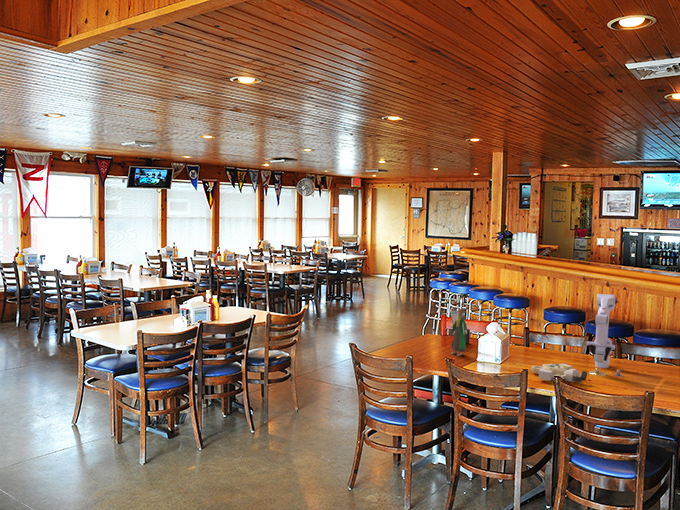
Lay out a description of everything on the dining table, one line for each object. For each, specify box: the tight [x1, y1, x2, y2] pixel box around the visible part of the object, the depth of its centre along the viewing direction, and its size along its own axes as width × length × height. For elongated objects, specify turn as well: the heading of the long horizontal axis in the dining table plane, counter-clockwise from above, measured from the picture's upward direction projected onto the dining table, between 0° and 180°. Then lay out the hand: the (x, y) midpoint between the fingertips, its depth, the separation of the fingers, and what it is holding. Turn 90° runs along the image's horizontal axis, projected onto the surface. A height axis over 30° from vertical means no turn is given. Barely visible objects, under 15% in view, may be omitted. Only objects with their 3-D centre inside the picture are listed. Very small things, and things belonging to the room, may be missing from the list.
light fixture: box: [449, 310, 471, 345], centre depth 399 cm, size 11×17×24 cm, turn 152°
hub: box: [588, 367, 607, 377], centre depth 328 cm, size 9×9×4 cm
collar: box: [593, 353, 606, 363], centre depth 327 cm, size 5×5×4 cm
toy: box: [531, 363, 588, 383], centre depth 321 cm, size 25×8×30 cm
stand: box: [613, 369, 624, 378], centre depth 326 cm, size 4×4×4 cm
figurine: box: [449, 307, 468, 357], centre depth 370 cm, size 16×7×30 cm, turn 27°
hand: (599, 359), depth 328 cm, fingers closed on collar, 5 cm apart
